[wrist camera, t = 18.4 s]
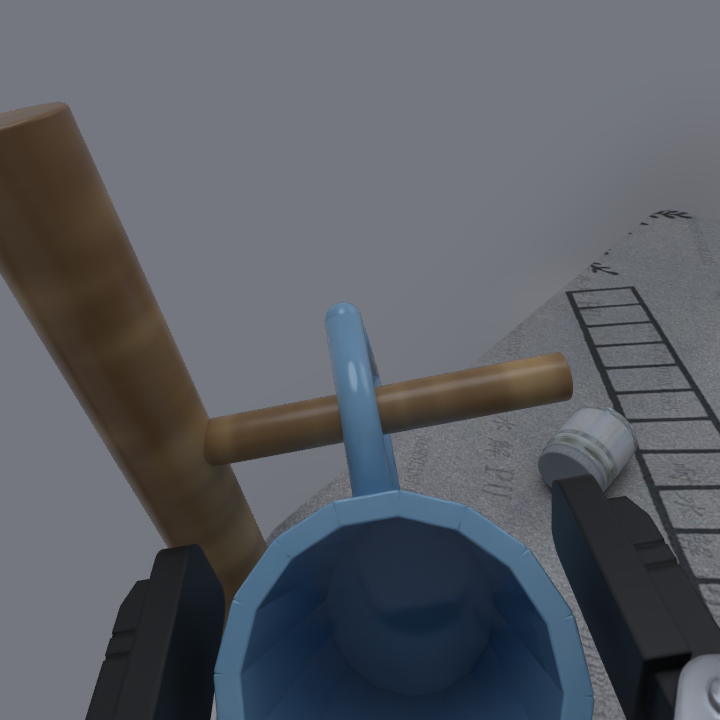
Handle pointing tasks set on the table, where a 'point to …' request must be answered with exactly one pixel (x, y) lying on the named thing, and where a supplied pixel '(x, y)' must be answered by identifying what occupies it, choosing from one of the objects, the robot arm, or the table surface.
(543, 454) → the camera lens
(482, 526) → the mug
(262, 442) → the stand
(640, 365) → the table surface
